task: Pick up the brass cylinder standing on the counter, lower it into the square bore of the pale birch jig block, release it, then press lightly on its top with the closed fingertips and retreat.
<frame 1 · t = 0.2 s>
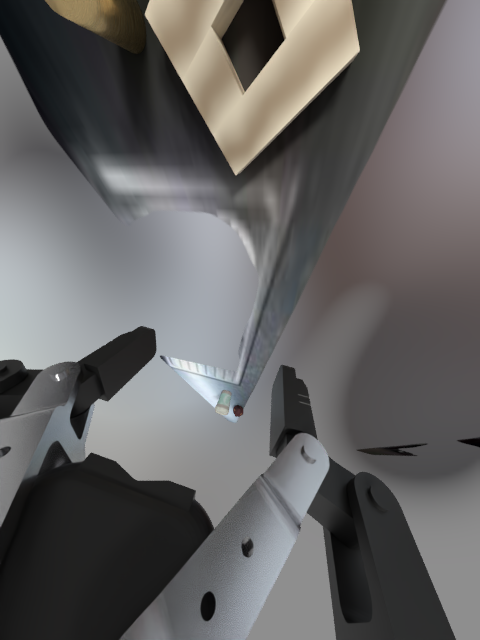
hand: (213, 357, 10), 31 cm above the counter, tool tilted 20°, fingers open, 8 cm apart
brass cylinder: (129, 23, 20), on the counter
jig: (254, 44, 19), on the counter
coffee cup: (227, 391, 106), on the counter
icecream: (239, 405, 120), on the counter
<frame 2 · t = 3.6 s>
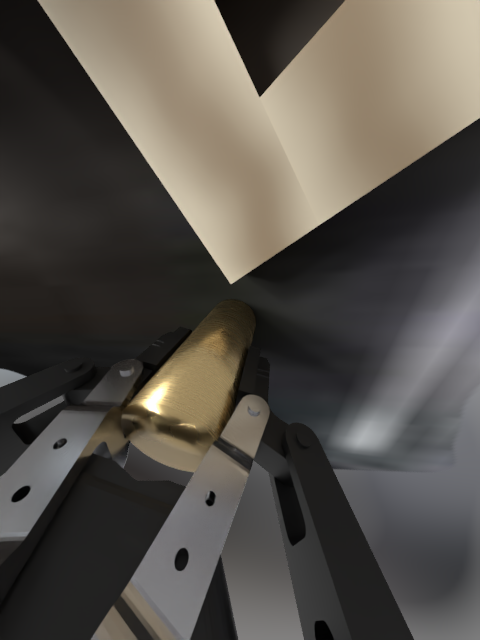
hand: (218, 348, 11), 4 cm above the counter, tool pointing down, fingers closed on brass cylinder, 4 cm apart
brass cylinder: (233, 320, 15), on the counter, touching gripper
jig: (286, 24, 8), on the counter
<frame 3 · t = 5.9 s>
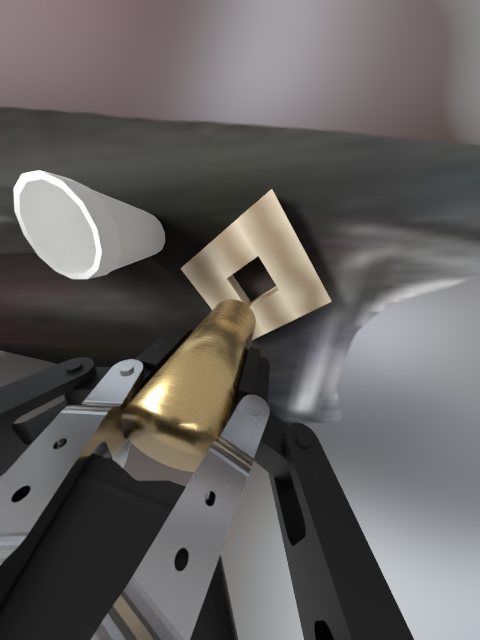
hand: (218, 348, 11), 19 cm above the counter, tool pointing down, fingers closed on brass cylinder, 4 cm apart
brass cylinder: (233, 320, 15), point 15 cm above the counter, touching gripper
foam cup: (148, 234, 28), on the counter
jig: (255, 279, 28), on the counter
when the fingers open (6 cm above the counter, at t = 8.2 s): brass cylinder drops 1 cm, resting in jig.
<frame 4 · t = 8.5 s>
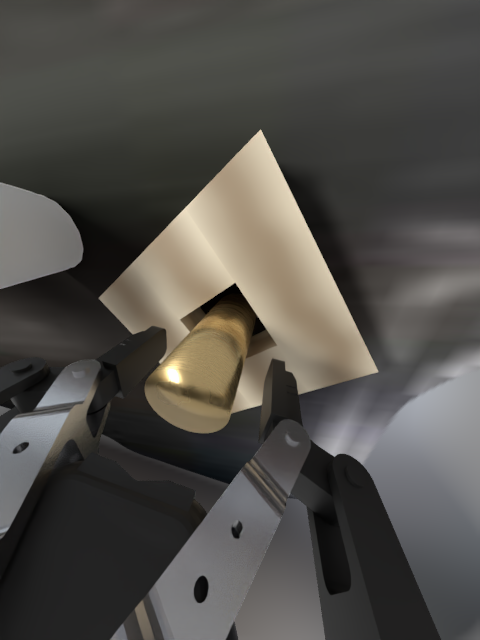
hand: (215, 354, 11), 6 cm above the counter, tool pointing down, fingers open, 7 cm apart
brass cylinder: (236, 313, 16), resting in jig
foam cup: (56, 234, 17), on the counter
jig: (236, 314, 16), on the counter
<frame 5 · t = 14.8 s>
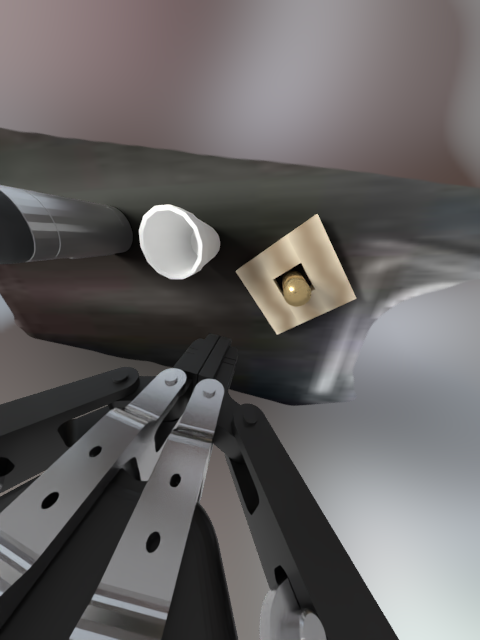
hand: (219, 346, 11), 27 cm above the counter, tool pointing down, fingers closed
brass cylinder: (292, 279, 34), resting in jig
foam cup: (205, 242, 35), on the counter
jig: (292, 280, 34), on the counter
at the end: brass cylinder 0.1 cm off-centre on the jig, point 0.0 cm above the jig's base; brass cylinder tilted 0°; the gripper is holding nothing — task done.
